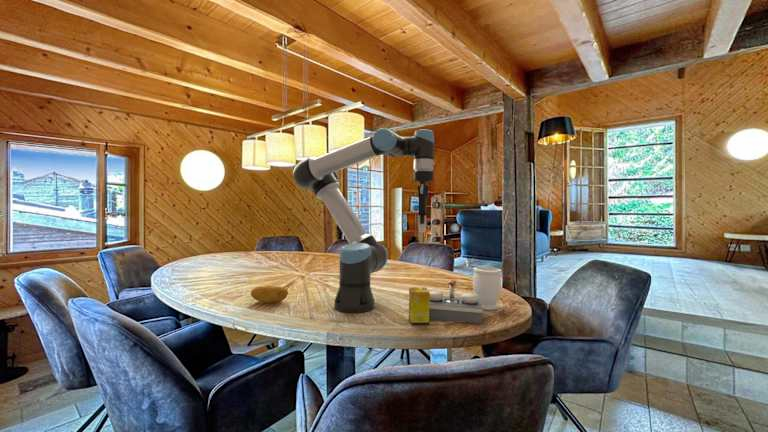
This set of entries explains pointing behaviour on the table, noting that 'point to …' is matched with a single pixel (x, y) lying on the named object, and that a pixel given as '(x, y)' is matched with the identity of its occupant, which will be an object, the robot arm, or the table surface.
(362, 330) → the table surface
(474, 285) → the white tapered cup
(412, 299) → the supplement box
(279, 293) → the potato
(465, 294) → the knob right
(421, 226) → the robot arm
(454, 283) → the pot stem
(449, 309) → the mount
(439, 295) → the knob left
